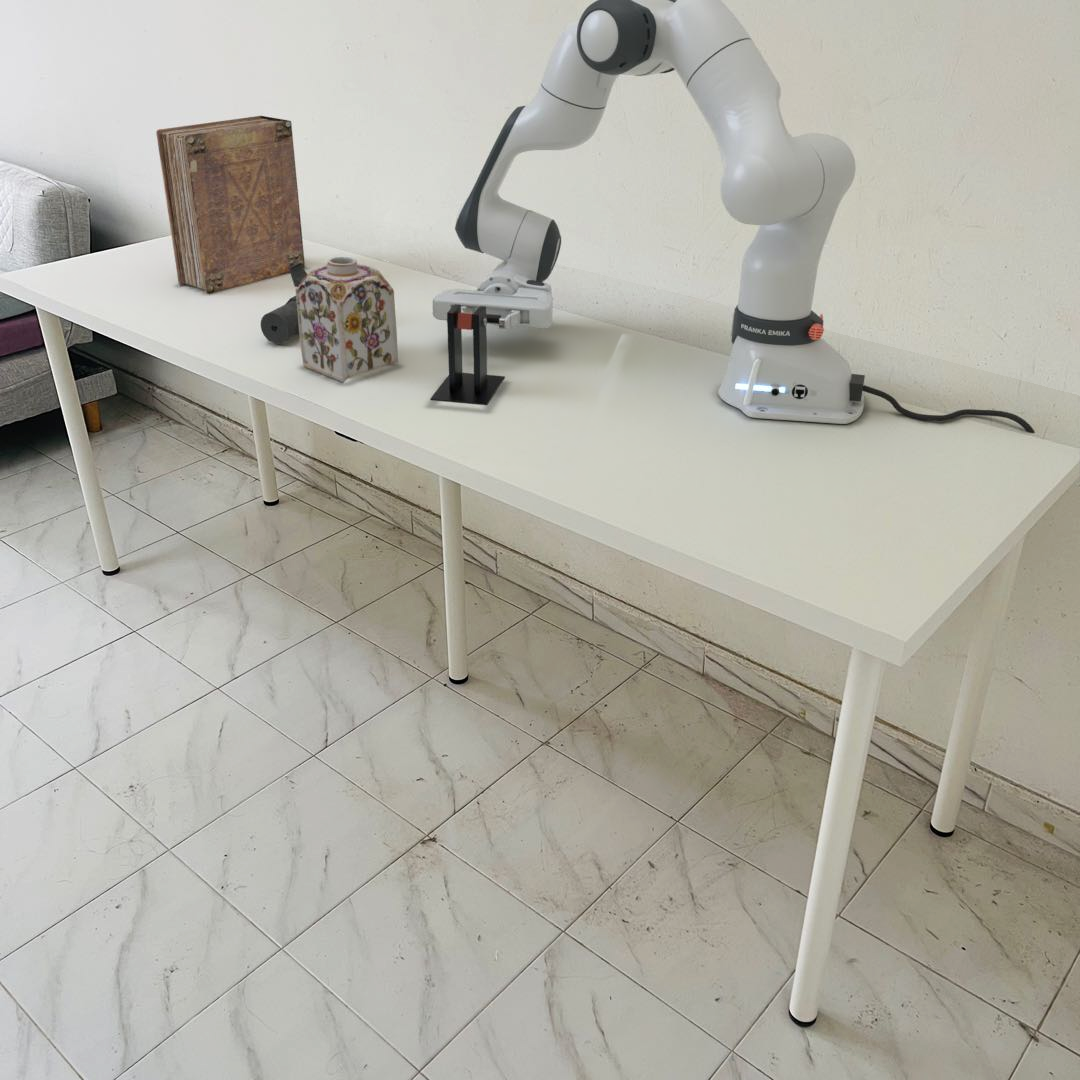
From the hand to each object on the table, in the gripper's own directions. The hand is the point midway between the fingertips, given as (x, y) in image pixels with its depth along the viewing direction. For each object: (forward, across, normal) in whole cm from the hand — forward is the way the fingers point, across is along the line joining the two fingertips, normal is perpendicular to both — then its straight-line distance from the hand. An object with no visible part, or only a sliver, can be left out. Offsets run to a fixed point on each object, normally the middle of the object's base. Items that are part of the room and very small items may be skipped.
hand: (482, 322), depth 176 cm
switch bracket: (+9, 0, +9) cm, 13 cm away
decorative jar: (+2, -22, +9) cm, 24 cm away
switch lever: (+5, 0, -1) cm, 5 cm away
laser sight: (-16, -37, +9) cm, 41 cm away
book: (-43, -62, +9) cm, 76 cm away
